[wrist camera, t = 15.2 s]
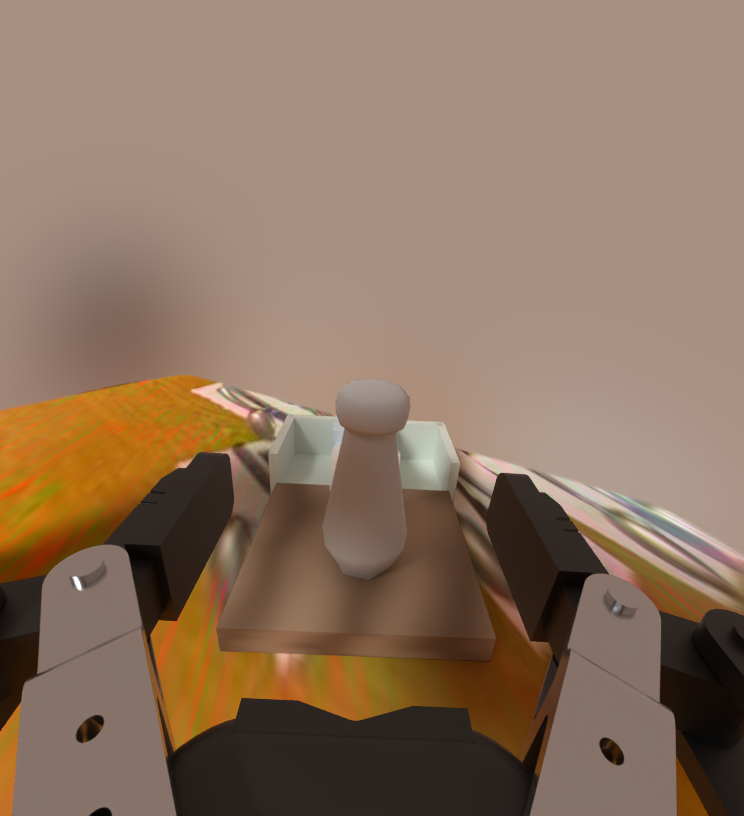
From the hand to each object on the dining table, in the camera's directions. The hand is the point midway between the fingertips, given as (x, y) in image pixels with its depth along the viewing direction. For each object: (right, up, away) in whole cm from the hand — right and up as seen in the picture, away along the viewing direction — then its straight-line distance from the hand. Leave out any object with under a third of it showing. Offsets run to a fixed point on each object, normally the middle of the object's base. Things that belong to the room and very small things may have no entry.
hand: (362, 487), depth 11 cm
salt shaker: (0, -8, +15) cm, 17 cm away
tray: (-1, -5, +27) cm, 28 cm away
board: (-1, -9, +17) cm, 20 cm away
